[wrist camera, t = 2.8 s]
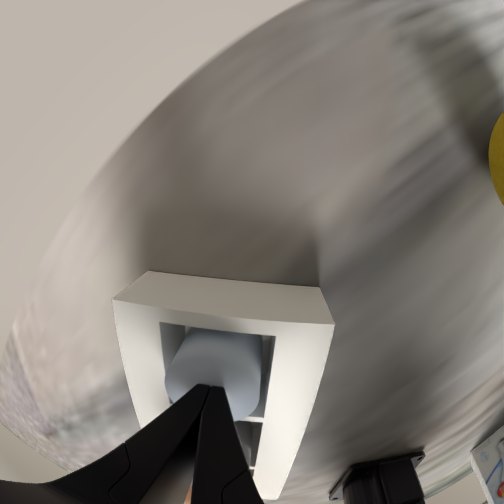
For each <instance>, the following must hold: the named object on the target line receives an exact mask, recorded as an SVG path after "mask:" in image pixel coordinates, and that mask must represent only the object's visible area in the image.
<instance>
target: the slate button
mask: <svg viewBox="0 0 504 504" xmlns="http://www.w3.org/2000/svg"><path fill="white" fill-rule="evenodd" d="M262 350H263V341H262V336H261V335H260V334H249V333H239V332H230V331H221V330H213V329H205V328H198V327H190V329H189V331H188V333H187V335H186V336H185V338H184V340H183V342H182V344H181V346H180V348H179V350H178V351H177V353H176V355H175V357H174V359H173V361H172V363H171V365H170V367H169V368H168V370H167V372H166V375H165V380H164V382H165V388H166V391H167V394H168V395H169V397H170V399H171V400H172V401H173V402H174V403H175V402H176V401H177V400H178V399H180V398H181V397H182V396H183V395H184V394H186V393H187V392H188V391H189V390H190V389H191V388H193V387H194V386H195V385H196V384H198V383H200V384H207V385H210V386H221V387H224V388H225V391H226V394H227V398H228V402H229V405H230V409H231V412H232V415H233V419H234V421H238V420H241V419H243V418H245V417H247V416H248V415H250V414H251V413H252V412H253V411H254V410H255V408H256V407H257V405H258V402H259V395H260V380H261V365H262Z"/></svg>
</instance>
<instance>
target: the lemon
mask: <svg viewBox="0 0 504 504" xmlns="http://www.w3.org/2000/svg"><path fill="white" fill-rule="evenodd" d="M488 156H489V168H490V173H491V178H492V181H493V184H494V187H495V190H496V192H497V194H498V196H499V199H500V200H501V202H502V204H503V205H504V112H503V113H502V114H501V116H500V117H499V119H498V120H497V122H496V124H495V126H494V128H493V131H492V134H491V138H490V142H489V154H488Z"/></svg>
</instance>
